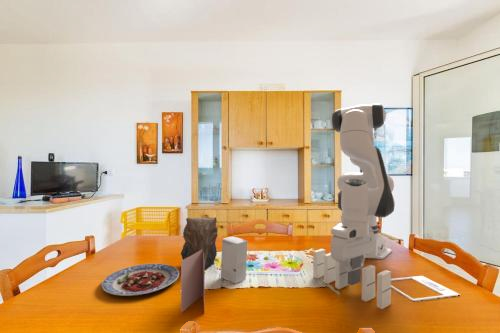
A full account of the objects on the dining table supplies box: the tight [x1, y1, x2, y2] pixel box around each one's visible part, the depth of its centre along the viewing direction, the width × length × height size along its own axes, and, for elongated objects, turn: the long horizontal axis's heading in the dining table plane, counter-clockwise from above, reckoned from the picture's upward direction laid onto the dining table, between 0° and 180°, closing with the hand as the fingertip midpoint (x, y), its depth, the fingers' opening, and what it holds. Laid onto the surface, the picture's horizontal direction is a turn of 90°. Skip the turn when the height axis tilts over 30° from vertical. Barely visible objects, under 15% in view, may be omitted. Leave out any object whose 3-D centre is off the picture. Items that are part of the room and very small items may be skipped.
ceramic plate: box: [101, 263, 180, 297], centre depth 94 cm, size 26×26×3 cm
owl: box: [180, 216, 218, 271], centre depth 111 cm, size 13×13×20 cm
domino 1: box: [312, 248, 326, 279], centre depth 100 cm, size 2×5×10 cm, turn 125°
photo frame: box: [391, 275, 461, 302], centre depth 91 cm, size 15×1×18 cm
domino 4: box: [348, 256, 362, 286], centre depth 88 cm, size 2×5×10 cm, turn 125°
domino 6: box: [376, 269, 392, 310], centre depth 80 cm, size 2×5×10 cm, turn 125°
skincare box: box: [220, 236, 248, 284], centre depth 98 cm, size 8×6×15 cm
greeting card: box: [180, 249, 206, 313], centre depth 79 cm, size 11×7×15 cm, turn 157°
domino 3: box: [334, 260, 349, 290], centre depth 92 cm, size 2×5×10 cm, turn 125°
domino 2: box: [323, 252, 335, 284], centre depth 96 cm, size 2×5×10 cm, turn 125°
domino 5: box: [361, 264, 376, 303], centre depth 84 cm, size 2×5×10 cm, turn 125°
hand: (354, 269), depth 88 cm, fingers closed on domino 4, 5 cm apart
